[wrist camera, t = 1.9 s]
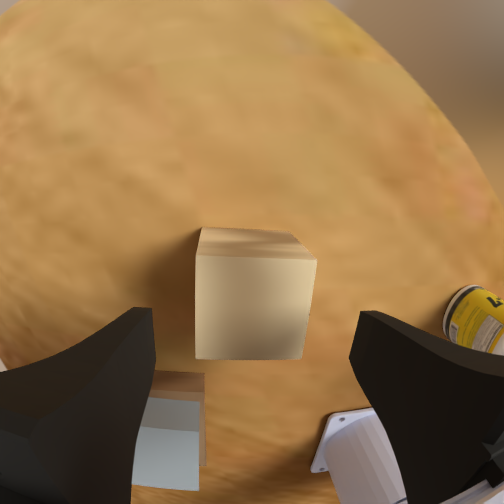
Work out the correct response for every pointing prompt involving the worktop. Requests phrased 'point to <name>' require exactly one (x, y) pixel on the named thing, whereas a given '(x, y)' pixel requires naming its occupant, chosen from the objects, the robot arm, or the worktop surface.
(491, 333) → the supplement bottle
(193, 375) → the walnut slab
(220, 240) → the oak block
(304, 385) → the worktop surface
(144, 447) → the slate slab
